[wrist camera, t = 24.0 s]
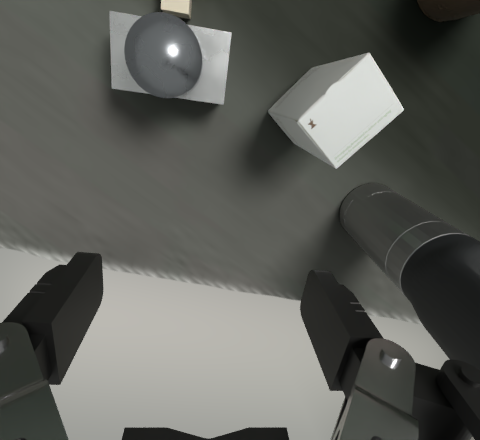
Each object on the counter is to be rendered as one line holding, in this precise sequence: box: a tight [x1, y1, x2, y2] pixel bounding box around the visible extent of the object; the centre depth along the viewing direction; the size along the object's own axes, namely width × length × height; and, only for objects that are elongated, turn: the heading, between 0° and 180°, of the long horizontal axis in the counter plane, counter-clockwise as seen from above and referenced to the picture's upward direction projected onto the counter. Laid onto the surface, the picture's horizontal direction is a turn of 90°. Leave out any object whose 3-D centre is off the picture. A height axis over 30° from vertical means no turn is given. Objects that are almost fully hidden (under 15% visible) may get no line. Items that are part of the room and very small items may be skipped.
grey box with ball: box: [110, 11, 231, 105], centre depth 32 cm, size 12×7×12 cm, turn 82°
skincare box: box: [268, 53, 404, 169], centre depth 34 cm, size 8×7×16 cm
